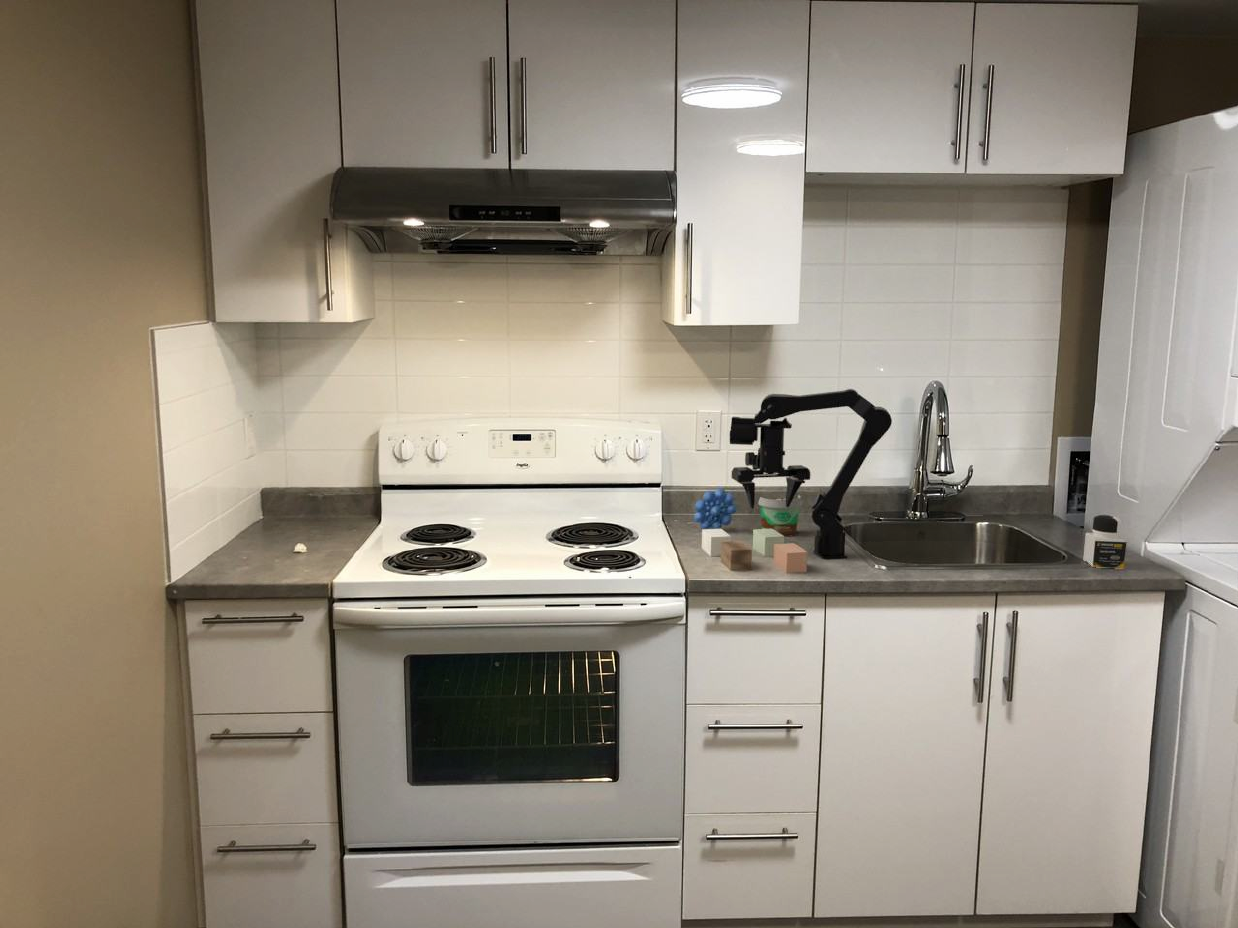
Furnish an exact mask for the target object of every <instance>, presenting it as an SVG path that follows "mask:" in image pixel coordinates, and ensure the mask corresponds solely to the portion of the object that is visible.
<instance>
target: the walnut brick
mask: <svg viewBox="0 0 1238 928" xmlns="http://www.w3.org/2000/svg"><path fill="white" fill-rule="evenodd" d="M752 549H753V548H751V547H749V546H748V545H747V544H745V543H744V542H743V541H740V540H739V541H731V542H721V556H720V562H721V563H722V564H723V565H724V566H725V567H726V568H727V569H728V570H729V571H731V572H732V571H733V572H734V571H735V572H737V571H752V563H753V562H752V559H753V550H752Z"/></svg>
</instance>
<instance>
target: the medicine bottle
mask: <svg viewBox="0 0 1238 928" xmlns="http://www.w3.org/2000/svg"><path fill="white" fill-rule="evenodd" d="M1092 522H1093V523H1092V529H1091V530H1092V531H1091V532H1086V533H1085V538H1084V549H1083V561H1084V562H1085V561H1087V562H1088V563H1089V564H1090V565H1091V566H1092V567H1096V568H1095V569H1101V568H1115V569H1114V570H1124V569H1125V561H1126V553H1127V552H1126V551H1127V540H1126V539H1124V538H1123V537H1122V536H1120V535H1121V534H1122V533H1121V531H1122V530H1121V529H1122V523H1123V522H1122V519H1121V518H1119V517H1117V516H1114V515H1107V514H1100V515H1096V516H1094V517H1093V521H1092ZM1089 564H1088V565H1089ZM1090 565H1089V566H1090ZM1091 566H1090V567H1091ZM1092 567H1091V568H1092Z"/></svg>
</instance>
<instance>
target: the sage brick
mask: <svg viewBox="0 0 1238 928" xmlns="http://www.w3.org/2000/svg"><path fill="white" fill-rule="evenodd" d="M752 531H753V533H752V537H753V538H752V549H754V550H755V551H756V552H758V553H759V554H760V555H762V556H763V557H774V544H785V536H783V535H782V534H780V533H778V532H777V531H775V530H773V529H762V528H761V529H760V528H758V529H757V528H756V529H753V530H752Z"/></svg>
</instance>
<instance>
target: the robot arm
mask: <svg viewBox="0 0 1238 928" xmlns="http://www.w3.org/2000/svg"><path fill="white" fill-rule="evenodd" d="M842 407H843V408H844V407H848V408H849V409H851V410H852V411H853V412H854V413H856V414H857V415H858V416H859V417H861V418H862V419H863V423H862V426H861V429H860V432H859V435H858V438H857V440H856V441H855V443H854V445H853V446H852V449H851V451H850V452H849V453H848V455H847V457H846V458H845V461H844V462H843V464H842V465H841V467H840V469H839V471H838V472H837V474H836V476H835V478H834V480H833V481H832V483H831V485H830V486H829V487H828V488H827V489H826V490H825V491H823V490H822V489H819V490H818V493H817V495H816V498H815V499H814V500H812V501H811V509H812V510H811V518H812V521H813V523H814V524H815V525H816V526H818V527H819V529H816V535H815V536H814V545H813V546H814V549H813V554H815V555H816V556H819V557H820V558H821V559H842V558H845V559H846V558H848V555H847V554H846V553H845V551H846V550H845V549H846V548H845V547H846V530H845V524H844V523H845V522H844V519H843V518H842V517H841V515H839V511H840V509H841V508H840V507H841V505H842V501H843V498H844V496H845V494H846V493H847V491H848V489H849V487H850V486H851V484H852V482H853V480H854V479H855V477H856V475H857V474H858V472H859V470H860V469H861V466H862V465H863V463H864V462H865V460H866V458H867V456H868V454H869V453H870V451H871V449H872V448H874V446H875V445H876V444H877V443H878V442H879V441H880V440H881V439H882V438H883V436H884V435H885V434H887V432H889V431H888V430H889V429H890V428H891V426H892V422H893V421H892V416H891V414H890V413H889V411H888V409H886V408H885V407H882V406H876V405H874V404H873V403H872V402H870V401H869V400H868V399H866V398H865V397H863V396H862V395H861V394H860V393H858V391H856V389H853V388H848V389H844V390H838V391H837V390H836V391H826V392H820V393H811V394H801V395H794V394H787V393H786V394H785V393H782V394H781V393H771V394H768V395H767V396H765V397H764V398H763V400H762V401H761V403H760V410H759V411H758V412H757V413H755V414H754V417H739V416H732V417H731V422H730V423H731V424H730V430H729V445H740V446H741V445H744V446H745V445H746V446H748V445H749V446H753V444H754V443H755V442H757V441H758V440H759V447H758V450H757V454H755V452H754V451H753V452H752V451H751V452H749V451H748V452H746V453H745V455H744V456H745V457H744V462H745V463H744V464H745V466H739V467H738V466H737V467H733V468H732V470H731V479H732V480H734V481H736V482H737V483H739V484H741V485H742V487H743V490H744V491H745V493H746V496H747V500H748V503H749V505H750V506H749V507H750V509H752V510H754V508H755V502H756V501H755V499H756V497H755V496H756V483H755V482H754V479H758V478H761V479H762V478H763V479H764V478H782V477H783V478H785V479H786V481H785V482H786V493H785V498H786V507H789V506H790V504H791V502H792V500H793V499H794V497H795V496H796V493H797V492H798V490H799V488H800V487H801V486H802V484H806V481H809V480H811V471H810V469H809V468H808V467H806V466H804V465H802V464H796V465H795V464H794V465H788V466H787V468H785V467H784V456H786V451H785V450H784V442H785V441H784V439H785V429H789V430H790V429H792V427H793V424H792V423H790V421H789V420H788V418H787V417H788V416H791V415H794V414H796V413H800V412H801V413H802V412H807V411H818V410H826V409H827V410H828V409H834V408H842ZM781 418H783V419H782V420H777V419H781ZM768 420H770V421H769V423H764V422H767V421H768ZM759 428H760V431H759ZM759 432H760V436H759ZM758 437H760V439H759V438H758ZM748 466H752V468H750V467H748Z"/></svg>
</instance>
